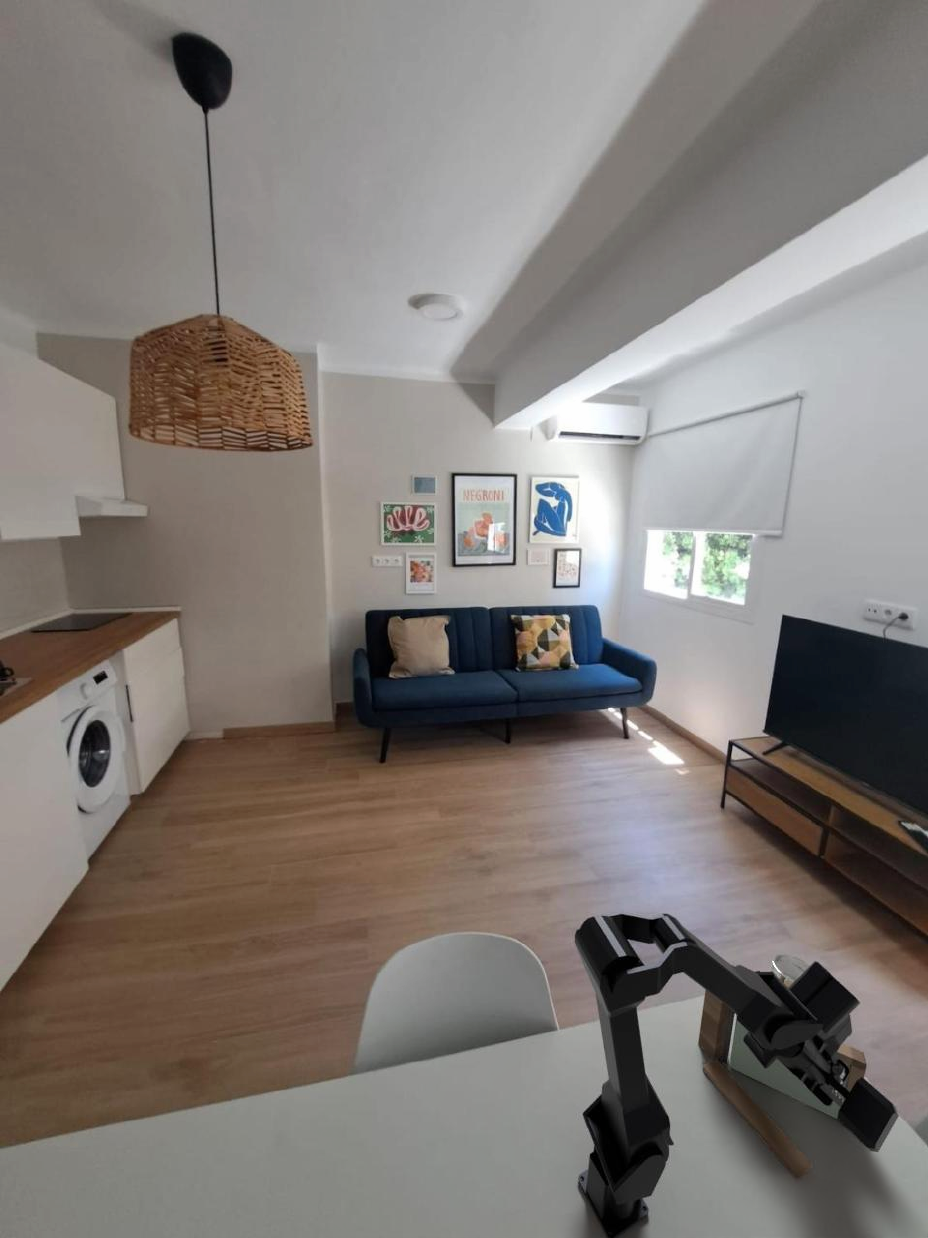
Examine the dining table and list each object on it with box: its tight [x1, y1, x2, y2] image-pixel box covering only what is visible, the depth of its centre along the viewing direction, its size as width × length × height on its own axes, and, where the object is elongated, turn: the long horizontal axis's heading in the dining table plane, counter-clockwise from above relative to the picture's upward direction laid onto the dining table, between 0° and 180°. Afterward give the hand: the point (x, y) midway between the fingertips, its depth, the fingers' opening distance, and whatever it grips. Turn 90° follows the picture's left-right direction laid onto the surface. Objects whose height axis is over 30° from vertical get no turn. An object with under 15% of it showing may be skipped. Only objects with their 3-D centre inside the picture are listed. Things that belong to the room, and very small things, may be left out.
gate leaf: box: [729, 1016, 868, 1120], centre depth 75 cm, size 16×2×11 cm, turn 61°
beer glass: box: [768, 952, 811, 987], centre depth 82 cm, size 7×7×15 cm
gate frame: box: [697, 989, 813, 1181], centre depth 74 cm, size 6×18×14 cm, turn 24°
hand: (826, 1077), depth 72 cm, fingers closed
